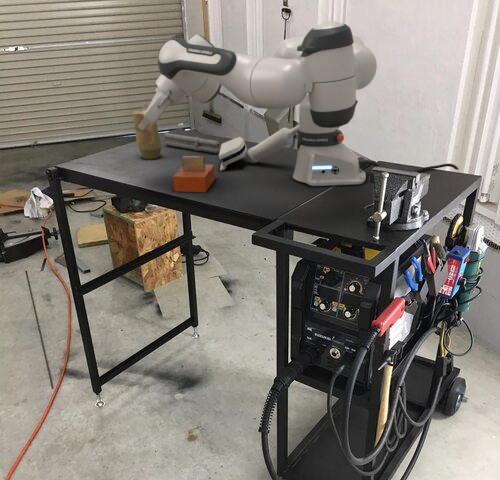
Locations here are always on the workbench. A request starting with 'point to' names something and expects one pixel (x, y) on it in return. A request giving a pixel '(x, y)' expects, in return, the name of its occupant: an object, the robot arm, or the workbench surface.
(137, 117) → the workpiece
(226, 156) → the white rounded block
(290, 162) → the workbench surface
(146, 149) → the squeeze bottle
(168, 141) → the metal rod assembly
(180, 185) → the orange box
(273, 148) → the bottle
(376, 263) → the workbench surface
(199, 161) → the tan rectangular block
